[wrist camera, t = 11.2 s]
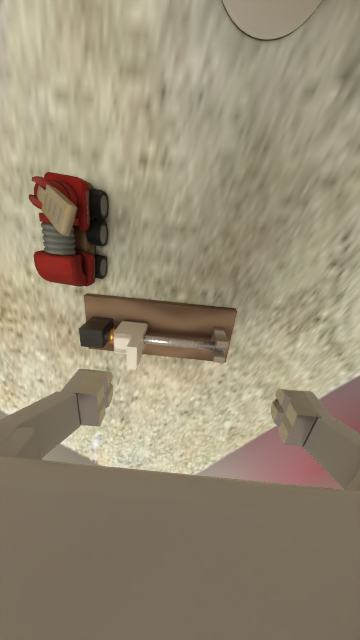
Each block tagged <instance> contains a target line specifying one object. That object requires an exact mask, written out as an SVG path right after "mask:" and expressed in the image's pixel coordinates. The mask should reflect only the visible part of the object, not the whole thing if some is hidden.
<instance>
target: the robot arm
mask: <svg viewBox="0 0 360 640" xmlns="http://www.w3.org/2000/svg"><path fill="white" fill-rule="evenodd" d="M222 1H223V4H224V6H225V8H226V10H227V12H228V14H229V16H230V17H231V19H232V20H233V21H234V23H235V24H236V25H237V26H238V27H239V28H240V29H241V30H242V31H244V32H245V33H247V34H248V35H250V36H252V37H255V38H259V39H276V38H279V37H282V36H285V35H287V34H289V33H291V32H292V31H294V30H295V29H297V28H298V27H299V26H301V25H302V24H303V23H304V22H305V21H306V20H307V19H308V18H309V17H310V16H311V15H312V14H313V12H314V11H315V10H316V9H317V7H318V6H319V4H320V3H321V1H322V0H222ZM112 379H113V376H112V373H111V372H106V371H98V370H89V369H79V370H78V371H77V372H76V373H75V374H74V376H73V377H72V378H71V379H70V381H69V382H68V383H67V384H66V385H65V387H64V388H63V389H62V390H61V392H55V393H53V394H51V395H49V396H47V397H45V398H43V399H41V400H39V401H37V402H35V403H33V404H31V405H29V406H27V407H25V408H23V409H21V410H19V411H17V412H15V413H13V414H11V415H9V416H7V417H5V418H3V419H1V420H0V640H360V434H359V433H357V432H356V431H354V430H353V429H351V428H350V427H348V426H347V425H345V424H344V423H342V422H340V421H339V420H338V419H333V417H332V416H331V415H330V414H329V412H328V411H327V410H326V408H325V407H324V406H323V405H322V403H320V401H319V400H318V398H317V397H316V396H315V395H314V393H312V392H311V391H296V390H286V389H278V390H277V392H276V397H277V399H276V400H275V401H274V402H273V403H272V406H271V415H272V418H273V421H274V423H275V424H277V425H278V426H279V430H278V432H279V434H280V436H281V438H282V440H283V443H284V444H285V445H293V446H301V447H303V448H304V449H305V450H306V451H307V452H308V453H309V454H310V455H311V456H312V457H313V458H314V459H315V460H316V461H317V462H318V463H319V464H320V465H321V466H322V467H323V468H324V469H325V470H326V471H327V472H328V473H329V474H330V475H331V476H332V477H333V478H334V479H335V480H336V481H337V482H338V483H339V484H340V485H341V486H342V487H343V489H344V490H342V489H333V488H323V487H312V486H302V485H292V484H281V483H270V482H261V481H250V480H239V479H229V478H219V477H209V476H199V475H189V474H179V473H168V472H158V471H148V470H138V469H127V468H117V467H107V466H96V465H86V464H76V463H65V462H54V461H45V460H42V458H43V457H44V456H45V455H46V454H47V453H49V452H50V451H51V450H52V449H53V448H55V447H56V446H57V445H58V444H59V443H61V442H62V441H63V440H64V439H66V438H67V437H68V436H69V435H70V434H72V433H73V432H74V431H75V430H76V429H78V428H79V427H80V425H89V426H100V425H101V422H102V420H103V418H104V416H105V409H106V408H107V407H109V405H110V403H111V400H112V396H113V386H112V384H111V381H112Z"/></svg>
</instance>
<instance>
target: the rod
mask: <svg viewBox="0 0 360 640" xmlns="http://www.w3.org/2000/svg"><path fill="white" fill-rule="evenodd" d="M115 330H116V329H113V318H105V317H95V316H93V317H92V318H91V319H89V320H88V321H87V322H86V323H85V324H84V325H83V326H81V327H80V328H79V333H80V342H81V346H84V347H94V348H103V347H104V346H105V345H106V343H107V342H108V341H109V343H113V344H114V331H115ZM144 343H145V344H155V345H165V346H175V347H184V348H194V349H204V350H214V351H225V348H220V347H216V344H215V342H210V341H200V340H190V339H180V338H170V337H161V336H151V335H144Z"/></svg>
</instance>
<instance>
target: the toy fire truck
mask: <svg viewBox="0 0 360 640" xmlns="http://www.w3.org/2000/svg"><path fill="white" fill-rule="evenodd" d="M32 181H34V182H35V183H36V184H35V187H34V194H35V195H29V200H30V201H31V202H32V203H33V205H35V206H36V207H37V208H39V209H41V210H42V212H43V213H39V217H40V221H41V222H42V223H41V227H42V228H43V230H42V233H43V234H44V236H43V240H44V241H45V242H44V246H45V248H44V250H43V251H37V252H35V254H34V263H35V267H36V269H37V271H38V273H39V275H40V276H41V277H42V278H43V279H45V280H47V281H50V282H55V283H61V284H67V285H73V286H89V285H91V284H93V283H94V282H95V278H101V279H103V278H104V277H105V275H106V272H107V260H106V257H105V256H100V255H95V245H96V246H105V245H106V242H107V239H108V238H107V237H108V231H107V225H106V223H105V222H104V221H97V220H95V217H96V218H102V219H105V218H106V216H107V214H108V198H107V195H106V193H105V192H104V191H102V190H96V189H93V186H92V185H91V184H90V183H89V182H87V181H84V180H82V179H80V178H78V177H73V176H69V175H63V174H57V173H51V172H47V173H46V174H45V176H44V178H43V177H39V176H36V177H32Z"/></svg>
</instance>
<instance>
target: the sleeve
mask: <svg viewBox="0 0 360 640" xmlns="http://www.w3.org/2000/svg"><path fill="white" fill-rule="evenodd" d="M146 330H147V324H146V323H136V322H126V321H122V322H121V323H120V325H119V326H118V327H117V329H116V330H115V331H114V353H118V354H127V369H136V370H137V367H138V365H139V362H140V359H141V357H142V354H143V351H144V349H145V346H146V344H145V343H144V335H145V333H146Z"/></svg>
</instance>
